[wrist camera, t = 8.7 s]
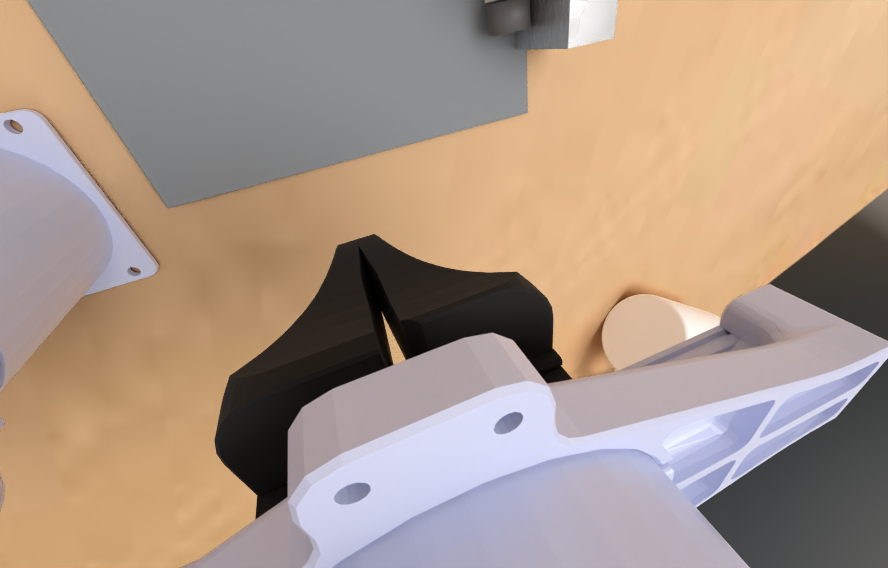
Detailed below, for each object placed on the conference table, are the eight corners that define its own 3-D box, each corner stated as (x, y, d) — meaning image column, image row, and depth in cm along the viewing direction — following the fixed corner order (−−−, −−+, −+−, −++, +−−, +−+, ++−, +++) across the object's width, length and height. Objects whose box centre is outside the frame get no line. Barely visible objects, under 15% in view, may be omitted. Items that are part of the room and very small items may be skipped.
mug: (632, 277, 34) (710, 328, 27) (685, 295, 39) (761, 342, 32) (566, 371, 38) (620, 433, 32) (621, 376, 43) (677, 431, 37)
